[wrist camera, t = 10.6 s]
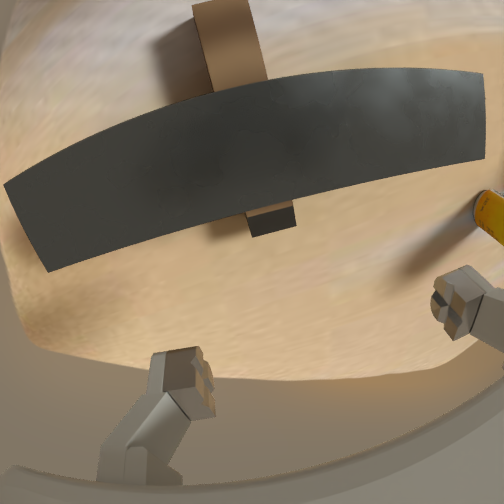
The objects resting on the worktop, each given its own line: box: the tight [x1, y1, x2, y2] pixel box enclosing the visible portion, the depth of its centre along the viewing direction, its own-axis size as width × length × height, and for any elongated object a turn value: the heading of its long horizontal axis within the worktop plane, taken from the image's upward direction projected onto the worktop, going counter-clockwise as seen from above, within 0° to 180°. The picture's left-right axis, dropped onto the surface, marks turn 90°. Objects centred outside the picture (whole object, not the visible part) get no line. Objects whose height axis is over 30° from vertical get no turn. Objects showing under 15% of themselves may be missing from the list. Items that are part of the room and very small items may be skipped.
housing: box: [3, 68, 486, 273], centre depth 18 cm, size 6×29×13 cm, turn 103°
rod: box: [192, 0, 296, 238], centre depth 22 cm, size 20×4×4 cm, turn 13°
